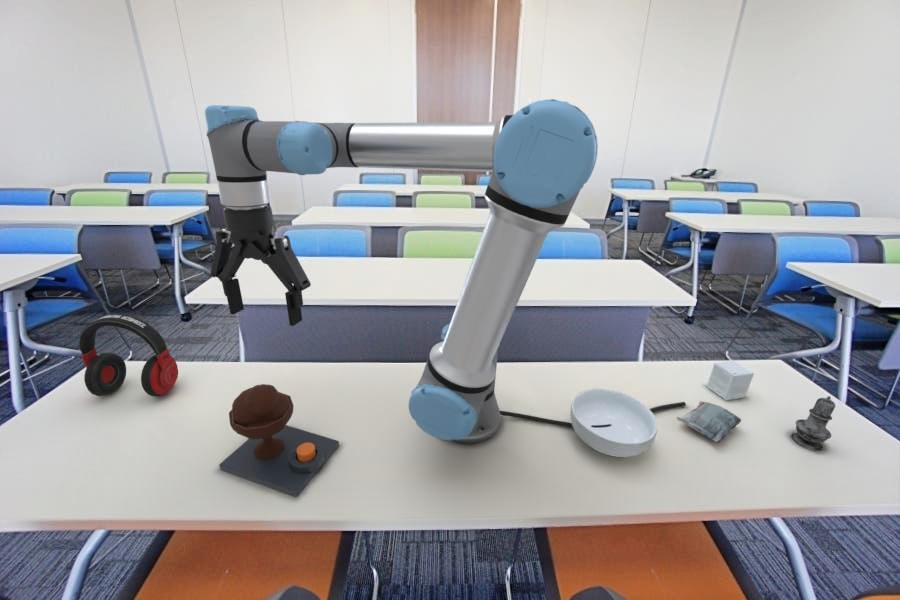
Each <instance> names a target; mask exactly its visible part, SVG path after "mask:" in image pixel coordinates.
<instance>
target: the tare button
mask: <svg viewBox="0 0 900 600" xmlns="http://www.w3.org/2000/svg"><path fill="white" fill-rule="evenodd" d="M315 455H316V453H315V446H314V444H312V443H303V444H301V445H300V446H299V447H298V448H297V457H298V460H299V461H300V462H309V461H311V460H312V459H313V458H314V457H315Z"/></svg>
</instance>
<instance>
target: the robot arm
mask: <svg viewBox="0 0 900 600" xmlns="http://www.w3.org/2000/svg"><path fill="white" fill-rule="evenodd" d="M258 116H259V115H258V112H257V110H256V109H255V108H254V107H252V106H242V105H224V104H223V105H221V104H219V105H218V104H211V105H208V106H206V108H205V109H204V119H205V127H206V128H205V129H206V137H207V139H208V144H209V147H210V148H209V149H210V153H211V158H212V162H213V167H214V172H215V177H216V183H217V188H218V193H219V200H220V204H221V205H222V206H224V208H223V209H222V214H223V219H224V224H225V228H224V229H221V230H217V231H215V239H216V244H215V248H214V253H213V254H214V255H213V259H212V263H211V268H210V272H209V273H210V276H211V277H212V278H217V279H218V280H219V281H220V282H221V284H222V289H223V293H224V296H225V297H226V299H227V304H228V309H229V314H230V315H236V314H238V313H240V312H242V311H244V310H245V307H244V302H243V301H244V300H243V296H242V292H241V287H240V286H241V285H240V281H239V278H236V277H237V272H238V271H239V269H240V267H241V266H242V264H243V262H244V261H245V259H246V260H248V259H253V260H254V261H261V262H262V263H263V264H264V265H267V266H268V267H269V269H270V270H271V271H272V273H273V274H274V275H275V276H276V277H277V279H278V280H279V281H280V282H281V283H282V285H283V286H284V287H285V288H286V290H287V291H286V292H285V293H284V295H285V302H286V308H287V315H288V323H289V326H291V327H294V326H296V325H298V324H299V323H301V321H303V314H302V307H303V306H304V299H303V291H305V290H306V289H308V288H310V287H311V286H312V284H311V281H310V280H309V277H308V276H307V274H306V271H305V270H304V268H303V267H302V264H301V262H300V261H299V259H298V258H297V255H296V254H295V252H294V250H293V248H292V245H291V239H290V236H288V235H287V234H286V235H283V236H275V235H274V234H273V227H274V218H273V211H272V207H271V206H270V205H268V204H269V203H270V202H271V200H270V193H269V185H268V178H267V172H273V173H274V172H275V173H286V174H297V175H298V176H307V175H320V174H321V175H322V174H324V173H325V172H326V171H327V169H331V168H333V169H334V168H353V169H354V168H368V169H369V168H370V169H395V170H396V169H399V170H401V169H402V170H427V171H428V170H429V171H430V170H431V171H455V172H456V171H458V172H484V173H485V172H486V173H491V174H490V178H489V181H488V183H487V186H486V189H485V193H484V195H483V196H484V199H485V201H486V203H487V205H488V207H489V210H490V211H489V214H488V217H487V219H486V223H485V225H484V228H483V231H482V233H481V236H480V239H479V241H478V244H477V247H476V249H475V253H474V256H473V258H472V261H471V265H470V266H469V270H468V272H467V275H466V278H465V280H464V284H463V287H462V289H461V292H460V295H459V298H458V300H457V302H456V305H455V309H454V310H453V315H452V317H451V319H450V322H449V323H447V324H446V325H445V326H444V327H443V328H442V330H441V335H440V339H441V341H440V342H438V343H436V344H434V345H433V346H432V348H431V350H430V351H429V355H428V356H427V360H426V363H425V365H424V369H423V371H422V374H421V377H420V379H419V381H418V383H417V385H416V386H415V387H414V388H413V389H412V390H411V393H410V396H409V399H408V412H409V415H410V417H411V419H412V420H413V421H414V422H415V424H416V425H417V427H418V428H419V429H421V430H422V431H423V432H424V433H426V434H427V435H429V436H431V437H434V438H435V439H439V440H443V441H451V442H455V443H458V444H477V443H481V442H484V441H486V440H489V439H490V438H492V437H493V436H494V435H495V434H496V433H497V432H498V430H499V428H500V423H501V416H504V417H510V418H516V419H523V420H528V421H533V422H537V423H542V424H548V425H552V426H553V425H554V426H560V427H566V428H573V425H572V422H569V421H562V420H556V419H550V418H544V417H540V416H534V415H530V414H525V413H518V412H511V411H505V410H500V408H499V404H498V400H497V398H496V393H495V386H496V378H497V377H496V376H497V366H498V354H499V348H500V344H501V341H502V339H503V337H504V335H505V332H506V330H507V328H508V325H509V323H510V321H511V318H512V316H513V315H514V312H515V309H516V307H517V305H518V303H519V301H520V299H521V297H522V293H523V292H524V290H525V287H526V285H527V282H528V280H529V278H530V276H531V273H532V271H533V268H534V266H535V264H536V262H537V261H538V258H539V255H540V253H541V250H542V248H543V246H544V244H545V242H546V239H547V237H548V235H549V234H550V232H552V231H554V230H556V229H559V228H561V227H563V226H565V224H566V222H567V221H568V218H569V216H570V214H571V211H572V210H573V207H574V205H575V203H576V200H577V199H578V196H579V195H580V191H581V190H582V189H583V188H584V186H585V184H586V183H587V182H588V181H589V179H590V177H591V176H592V174H593V171H594V169H595V166H596V164H597V160H598V148H599V147H598V146H599V145H598V137H597V134H596V130H595V126H594V124H593V122H592V121H591V120H590V118H589V117H588V115H587V114H586V112H584V111H583V110H581V108H579V107H578V106H576V105H574V104H571V103H569V102H568V101H562V100H557V99H553V98H552V99H542V100H536V101H533V102H532V103H529V104H527V105H525V106H522V107H521V108H520V109H519V110H517V111H516V112H515V113H514V114H504V115H503V116H502V117H501V118H500V119H498V121H480V122H477V121H475V122H474V121H467V122H466V121H465V122H464V121H460V122H457V121H455V122H454V121H453V122H445V121H444V122H441V121H440V122H312V121H311V122H309V121H304V120H303V121H301V120H293V121H291V120H289V121H288V120H287V121H286V120H283V121H282V120H279V121H278V120H273V121H272V120H264V121H263V120H260V119H259V117H258ZM233 245H234V247H233ZM232 247H233V248H232ZM686 406H687V403H686V402H685V401H679V402H675V403H668V404H662V405H658V406H654V407H652V408H648V409H649V410H650V411H651V412H652V413H653V414H654V413H656V412H659V411H663V410H667V409H668V410H669V409H674V408H675V409H676V408H681V407H686ZM609 426H611V424H607V425H592V426H591V427H594V428H602V427H609ZM573 429H574V428H573Z"/></svg>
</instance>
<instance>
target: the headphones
mask: <svg viewBox="0 0 900 600" xmlns="http://www.w3.org/2000/svg"><path fill="white" fill-rule="evenodd" d="M108 326H109V327H117V328H121V329H124V330H127V331H129V332H131V333H134V334H135V335H137V336H138V337H140V338H141V339H143V340H144V341H145V342H146V343H147V344H148V346H149V347H150V348H151V350H153V353H155V354H153V355H151V357H149V358H148V359H147V360H146V362H145V363H144V364H143V367H142V370H141V373H140V384H141V387H142V389H143V391H144V392H145V393H146V394H147V395H148V396H149V397H150V396H151V397H162V396H165V395H167V393H169V392H170V391H171V390H172V389H173V387H174V386H175V384H176V382H177V380H178V377H179V368H178V364H177V361H176V360H175V359H174V357H173V356H172V355H171V353H170V349H169V348H168V347H167V344H166V342H165V339H164V338H163V336H162V335H161V333H159V331H158V330H156V328H154V327H153V326H152V325H151V324H149V323H148V322H147V321H145V320H144V319H143V320H142V319H140V318H139V317H136V316H133V315H131V314H127V313H110V314H105V315H103V316H101V317H98V318H97V319H95V320H94V321H92V322H90V323H89V324H87V325H86V326H85V327H84V328H83V329H82V330H81V333H80V335H79V339H78V344H79V345H78V347H79V351H80V353H81V355H80V357H81V359H82V361H83V364H84V366H85V372H84V375H83V379H84V380H83V381H84V385H85V387H86V389H87V391H88V392H89V393H90V394H92V395H94V396H96V397H107V396H112V395H113V394H115V393H116V392H118V390H119V389H120V388H121V387H122V386H123V385H124V382H125V379H126V376H127V365H126V362H125V360H124V359H123V357H121V355H120V354H118V353H114V352H104V353H100V354H98V353H97V350H96V349H97V348H96V347H95V346H96V345H95V343H96V335H97V331H98V330H99V329H101V328H103V327H108Z"/></svg>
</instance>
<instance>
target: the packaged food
mask: <svg viewBox="0 0 900 600" xmlns="http://www.w3.org/2000/svg"><path fill="white" fill-rule="evenodd" d="M676 419H677V421H679V422H682V423H683V424H684V425H685V426H687V427H689V428H691V429H693V430H694V431H696V432H698V433H699V434H701V435H703V436H705V437H706V438H708V439H709V440H711V441H712V442H715V443H720V442H721V440H722V439H724V437H725V436H726V435H727V434H728V433H729V432H730V431H731V430H733V429H734V428H736V427H737V426H738V425H739V424H740V423H741V422H742V418H741V417H739V416H737V415H736V414H734V413H732V412H731V411H730V410H729V409H727V408H724V407H722V406H720V405H717V404H714V403H711V402H708V401H703V400H700V401H698V405H697V406H696V407H695V408H694V409H691V411H689V412H687V413H685V414H683V415H681V416H676Z"/></svg>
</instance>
